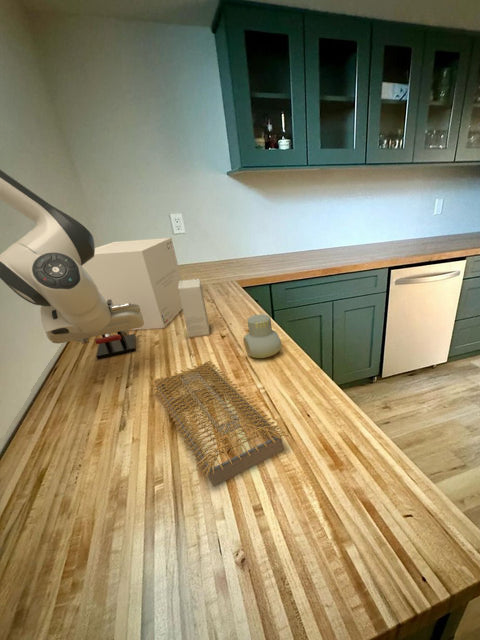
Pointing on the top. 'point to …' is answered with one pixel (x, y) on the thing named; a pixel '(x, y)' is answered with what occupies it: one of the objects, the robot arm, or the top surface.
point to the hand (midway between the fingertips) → (106, 336)
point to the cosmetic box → (194, 307)
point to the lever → (108, 338)
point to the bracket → (116, 345)
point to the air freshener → (261, 337)
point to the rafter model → (206, 394)
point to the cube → (139, 277)
